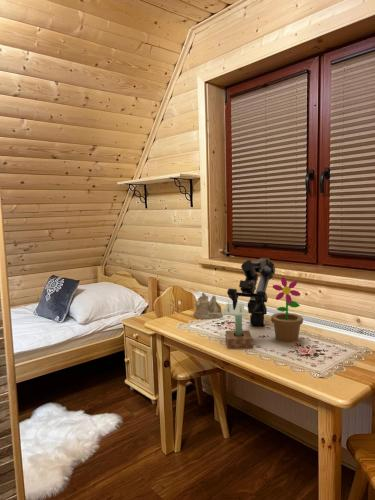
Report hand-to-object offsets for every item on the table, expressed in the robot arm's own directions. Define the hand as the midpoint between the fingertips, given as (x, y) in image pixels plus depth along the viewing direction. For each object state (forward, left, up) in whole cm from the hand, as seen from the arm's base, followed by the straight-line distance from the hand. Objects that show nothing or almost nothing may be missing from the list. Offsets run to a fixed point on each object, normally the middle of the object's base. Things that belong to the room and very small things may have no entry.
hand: (243, 310), depth 172 cm
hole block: (+3, +6, -13) cm, 15 cm away
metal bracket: (-1, -44, -14) cm, 47 cm away
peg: (+3, +6, -14) cm, 15 cm away
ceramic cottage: (+15, -39, -14) cm, 44 cm away
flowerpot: (-20, +1, -14) cm, 24 cm away
